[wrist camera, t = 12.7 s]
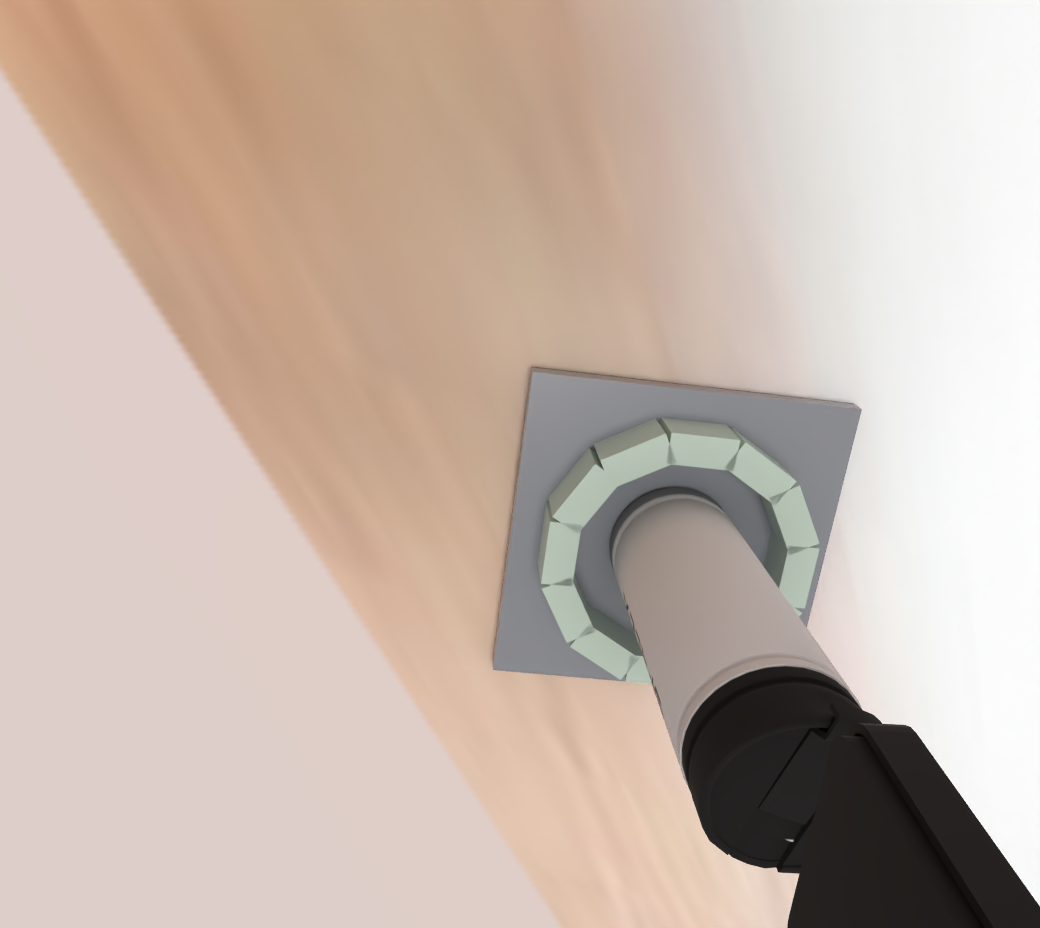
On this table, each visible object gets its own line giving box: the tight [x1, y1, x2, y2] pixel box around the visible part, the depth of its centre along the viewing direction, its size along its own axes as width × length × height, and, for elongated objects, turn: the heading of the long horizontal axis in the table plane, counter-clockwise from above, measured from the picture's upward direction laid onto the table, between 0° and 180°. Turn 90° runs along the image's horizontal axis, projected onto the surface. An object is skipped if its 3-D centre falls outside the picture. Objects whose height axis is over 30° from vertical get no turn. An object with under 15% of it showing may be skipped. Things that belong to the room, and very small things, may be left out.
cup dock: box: [493, 367, 862, 684], centre depth 45 cm, size 16×16×4 cm
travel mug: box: [609, 487, 882, 873], centre depth 37 cm, size 6×7×20 cm
